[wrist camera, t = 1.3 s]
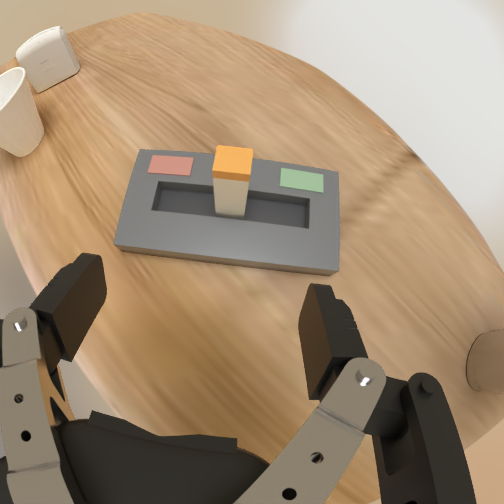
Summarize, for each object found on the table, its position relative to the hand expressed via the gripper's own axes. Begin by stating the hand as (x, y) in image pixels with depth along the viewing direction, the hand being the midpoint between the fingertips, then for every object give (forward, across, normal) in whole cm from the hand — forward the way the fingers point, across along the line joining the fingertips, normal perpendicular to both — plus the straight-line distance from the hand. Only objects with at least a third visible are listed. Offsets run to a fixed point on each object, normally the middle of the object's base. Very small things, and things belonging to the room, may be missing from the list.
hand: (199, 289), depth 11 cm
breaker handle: (+22, 0, +5) cm, 23 cm away
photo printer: (+41, +38, -11) cm, 57 cm away
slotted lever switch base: (+23, 0, +6) cm, 24 cm away
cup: (+30, +36, 0) cm, 47 cm away
